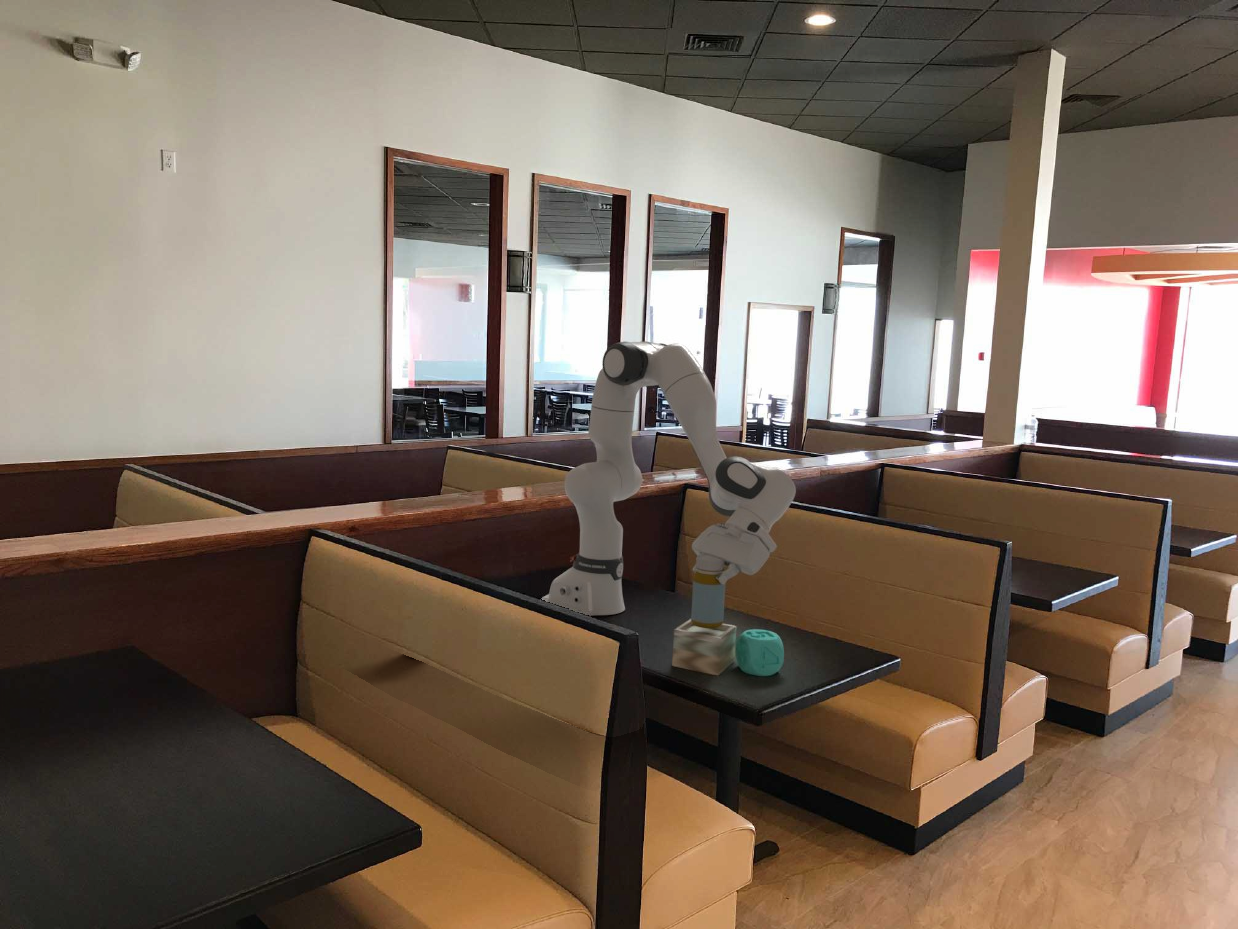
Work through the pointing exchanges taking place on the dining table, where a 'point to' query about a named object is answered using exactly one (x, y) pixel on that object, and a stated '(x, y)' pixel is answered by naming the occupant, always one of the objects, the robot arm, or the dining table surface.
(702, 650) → the open square box
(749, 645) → the decorative dice
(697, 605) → the bottle
